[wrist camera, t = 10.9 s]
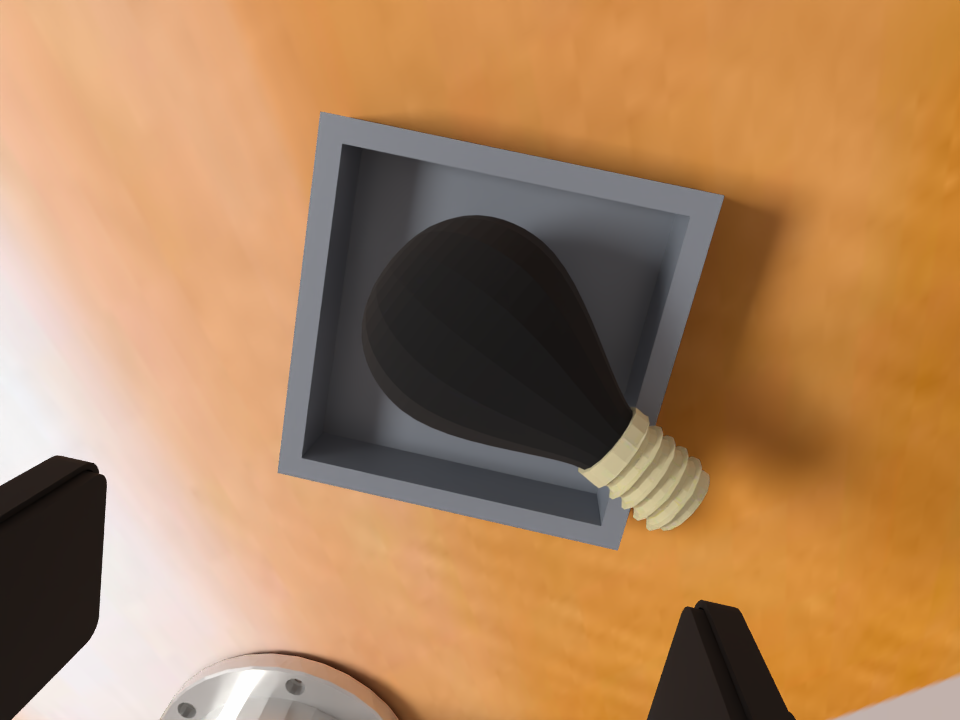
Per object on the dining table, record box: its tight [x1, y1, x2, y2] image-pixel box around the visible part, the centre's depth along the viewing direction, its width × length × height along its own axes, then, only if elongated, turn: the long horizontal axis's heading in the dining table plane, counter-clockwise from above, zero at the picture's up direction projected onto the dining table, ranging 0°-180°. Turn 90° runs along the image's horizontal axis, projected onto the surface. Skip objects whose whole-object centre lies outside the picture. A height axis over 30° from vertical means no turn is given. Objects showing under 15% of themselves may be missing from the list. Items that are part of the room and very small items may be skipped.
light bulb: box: [361, 215, 710, 531], centre depth 21 cm, size 7×7×12 cm
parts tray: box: [278, 112, 724, 550], centre depth 24 cm, size 13×13×3 cm
